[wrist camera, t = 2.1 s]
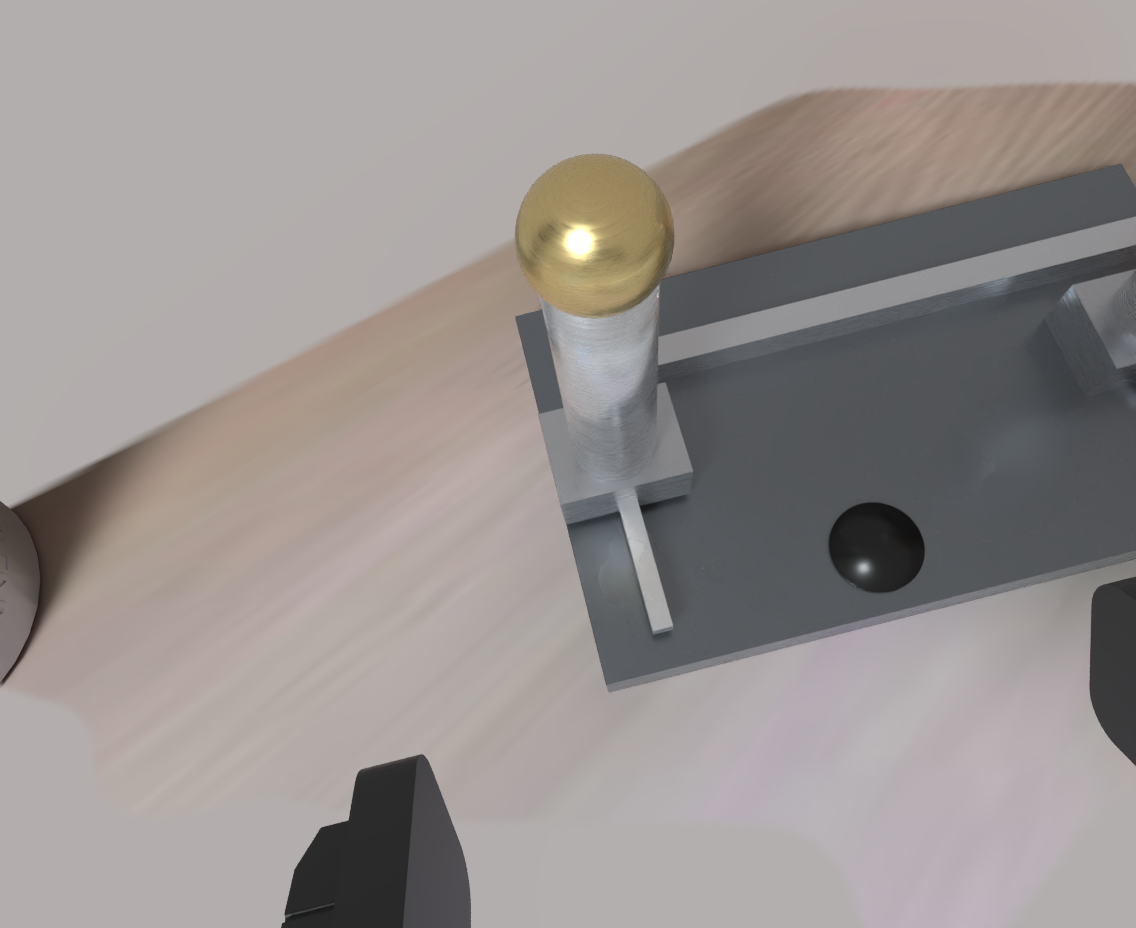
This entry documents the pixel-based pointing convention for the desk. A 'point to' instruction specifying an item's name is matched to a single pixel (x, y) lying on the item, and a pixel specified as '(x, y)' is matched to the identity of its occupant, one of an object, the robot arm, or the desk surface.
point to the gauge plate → (871, 431)
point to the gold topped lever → (606, 346)
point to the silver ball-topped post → (1098, 332)
